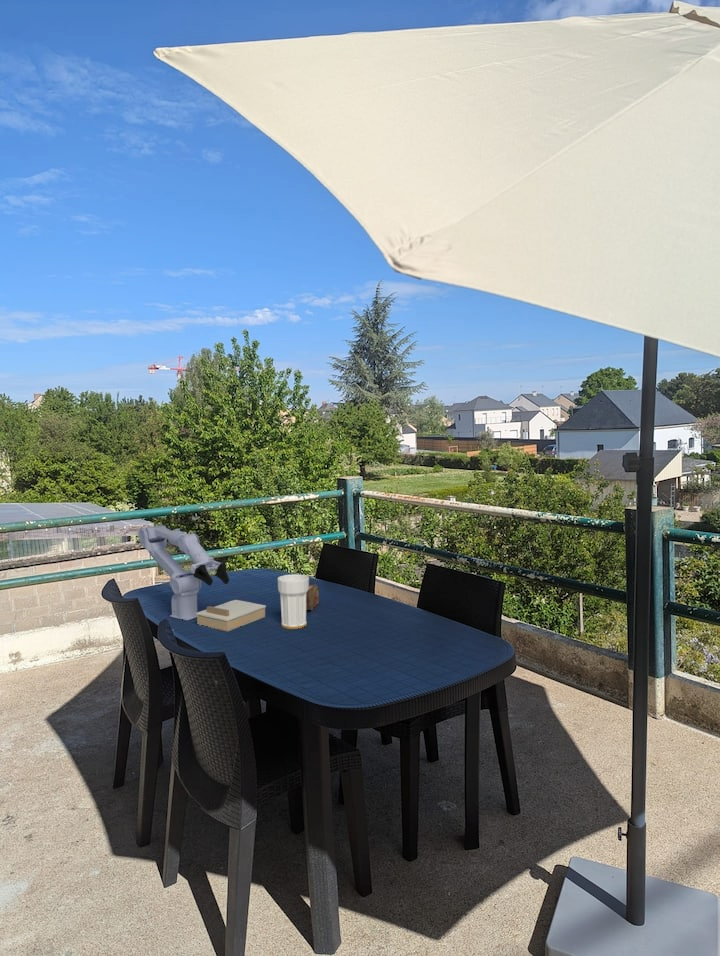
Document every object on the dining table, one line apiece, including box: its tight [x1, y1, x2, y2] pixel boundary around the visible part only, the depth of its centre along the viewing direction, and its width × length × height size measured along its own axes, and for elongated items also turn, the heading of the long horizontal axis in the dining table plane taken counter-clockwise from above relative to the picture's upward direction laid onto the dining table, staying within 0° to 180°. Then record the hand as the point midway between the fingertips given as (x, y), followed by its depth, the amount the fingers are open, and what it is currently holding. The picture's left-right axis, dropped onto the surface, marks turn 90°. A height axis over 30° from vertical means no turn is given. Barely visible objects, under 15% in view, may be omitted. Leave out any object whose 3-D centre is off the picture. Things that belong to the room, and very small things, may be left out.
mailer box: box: [196, 607, 266, 632], centre depth 243 cm, size 15×20×4 cm
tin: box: [306, 583, 320, 612], centre depth 259 cm, size 15×3×8 cm, turn 168°
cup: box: [277, 573, 310, 630], centre depth 237 cm, size 11×11×17 cm
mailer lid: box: [196, 599, 267, 621], centre depth 243 cm, size 16×20×3 cm
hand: (219, 582), depth 233 cm, fingers open, 7 cm apart
